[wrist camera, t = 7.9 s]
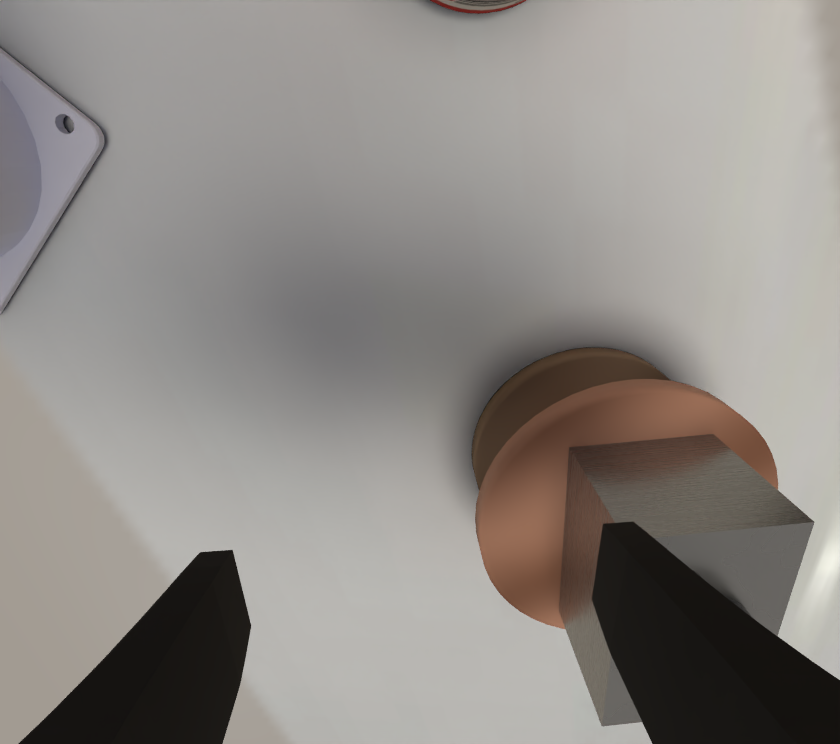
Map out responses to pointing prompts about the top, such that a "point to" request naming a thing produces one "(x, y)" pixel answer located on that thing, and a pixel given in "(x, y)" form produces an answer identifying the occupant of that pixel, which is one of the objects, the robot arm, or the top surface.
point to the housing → (674, 538)
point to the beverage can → (478, 5)
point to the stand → (549, 450)
